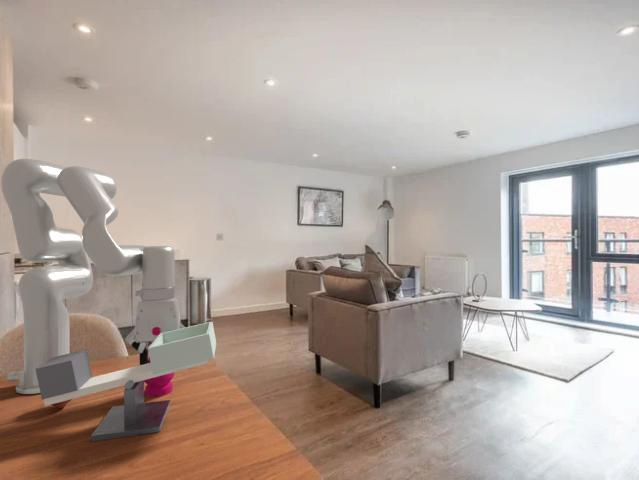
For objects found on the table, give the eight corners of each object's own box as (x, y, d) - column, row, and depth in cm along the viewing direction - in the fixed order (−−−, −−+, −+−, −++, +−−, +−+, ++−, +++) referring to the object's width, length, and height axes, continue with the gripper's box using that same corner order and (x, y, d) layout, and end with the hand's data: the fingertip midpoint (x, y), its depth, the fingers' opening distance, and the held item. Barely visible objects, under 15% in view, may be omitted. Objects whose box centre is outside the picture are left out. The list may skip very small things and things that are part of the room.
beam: (37, 416, 62) (28, 373, 61) (67, 390, 73) (59, 353, 73) (215, 369, 70) (208, 330, 69) (218, 351, 81) (211, 318, 81)
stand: (90, 441, 64) (90, 398, 64) (112, 411, 75) (112, 375, 75) (159, 431, 67) (159, 391, 67) (170, 404, 78) (170, 369, 78)
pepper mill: (162, 399, 81) (161, 315, 81) (136, 397, 82) (135, 315, 82) (180, 386, 88) (180, 310, 88) (156, 384, 89) (155, 309, 89)
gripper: (115, 298, 79) (115, 375, 79) (193, 295, 84) (193, 367, 84) (125, 294, 87) (125, 364, 86) (196, 291, 91) (196, 358, 91)
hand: (159, 365), depth 85 cm, fingers closed on pepper mill, 5 cm apart
